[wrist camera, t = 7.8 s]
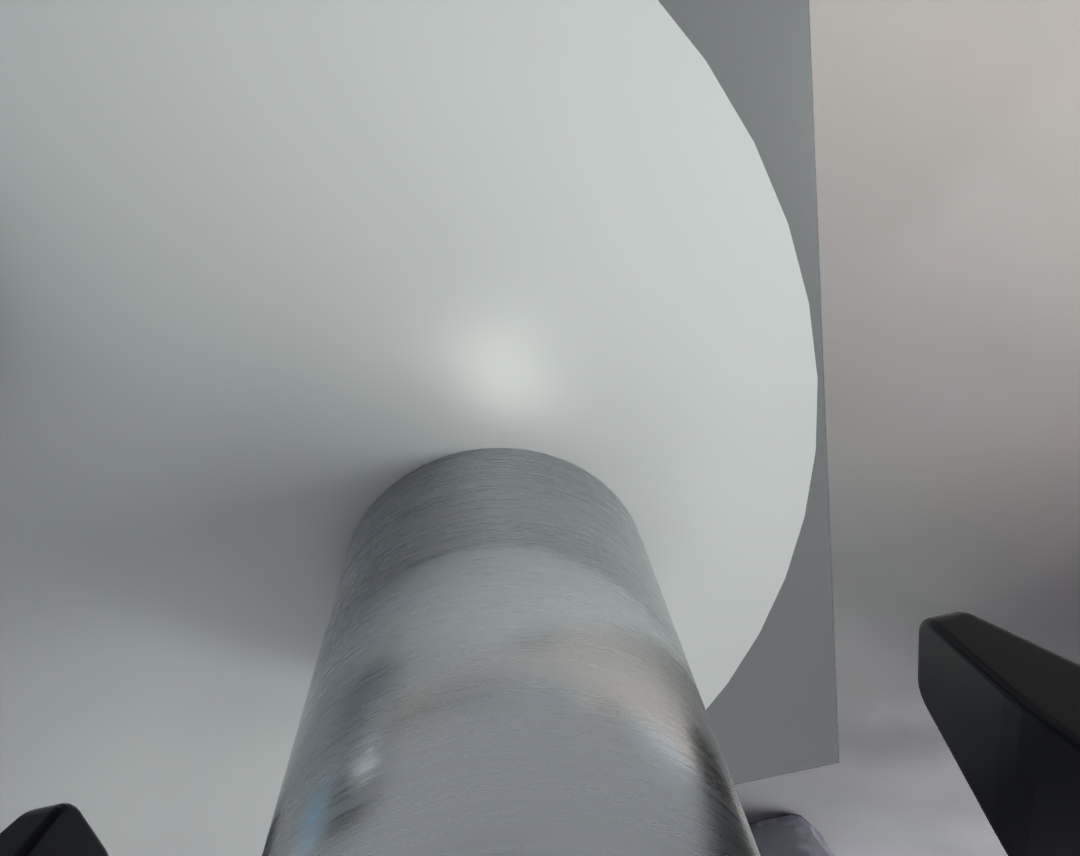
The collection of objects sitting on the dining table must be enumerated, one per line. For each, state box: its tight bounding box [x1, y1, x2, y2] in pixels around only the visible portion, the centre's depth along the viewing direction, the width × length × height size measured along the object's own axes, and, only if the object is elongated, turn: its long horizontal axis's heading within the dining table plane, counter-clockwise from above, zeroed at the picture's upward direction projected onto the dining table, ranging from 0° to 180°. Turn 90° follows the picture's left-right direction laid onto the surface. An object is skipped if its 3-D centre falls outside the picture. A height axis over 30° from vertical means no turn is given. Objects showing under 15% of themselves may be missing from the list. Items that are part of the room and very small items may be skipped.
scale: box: [0, 0, 839, 856], centre depth 10 cm, size 16×17×3 cm
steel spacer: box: [262, 448, 760, 856], centre depth 7 cm, size 4×4×6 cm
